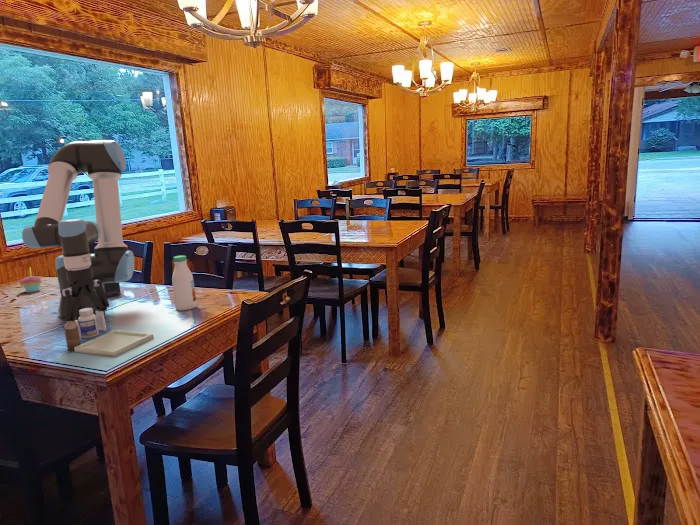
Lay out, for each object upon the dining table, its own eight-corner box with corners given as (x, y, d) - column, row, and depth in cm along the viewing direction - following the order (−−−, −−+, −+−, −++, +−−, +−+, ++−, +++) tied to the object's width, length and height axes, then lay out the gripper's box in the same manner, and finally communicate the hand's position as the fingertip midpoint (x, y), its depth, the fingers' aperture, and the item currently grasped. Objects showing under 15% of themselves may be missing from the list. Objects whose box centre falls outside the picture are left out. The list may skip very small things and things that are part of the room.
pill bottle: (85, 333, 167) (81, 307, 165) (101, 332, 167) (97, 306, 166) (78, 338, 162) (73, 312, 160) (95, 337, 162) (90, 311, 160)
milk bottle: (190, 311, 186) (183, 258, 182) (171, 311, 187) (164, 258, 183) (200, 305, 193) (194, 254, 189) (182, 305, 195) (175, 254, 191)
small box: (122, 294, 217) (118, 270, 215) (105, 297, 213) (101, 273, 211) (117, 290, 226) (113, 267, 223) (101, 292, 222) (97, 269, 220)
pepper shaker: (65, 350, 151) (60, 322, 150) (75, 346, 155) (70, 319, 153) (74, 352, 150) (69, 323, 148) (84, 347, 153) (79, 319, 152)
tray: (74, 352, 150) (74, 347, 150) (116, 334, 164) (115, 329, 164) (114, 356, 144) (113, 352, 144) (153, 338, 158) (152, 333, 158)
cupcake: (46, 289, 233) (42, 264, 231) (27, 294, 226) (22, 268, 224) (37, 288, 238) (32, 263, 236) (18, 292, 231) (13, 267, 229)
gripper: (56, 276, 149) (69, 347, 153) (114, 261, 169) (124, 324, 173) (38, 275, 151) (51, 345, 156) (98, 260, 171) (108, 323, 176)
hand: (90, 334), depth 165 cm, fingers open, 9 cm apart
